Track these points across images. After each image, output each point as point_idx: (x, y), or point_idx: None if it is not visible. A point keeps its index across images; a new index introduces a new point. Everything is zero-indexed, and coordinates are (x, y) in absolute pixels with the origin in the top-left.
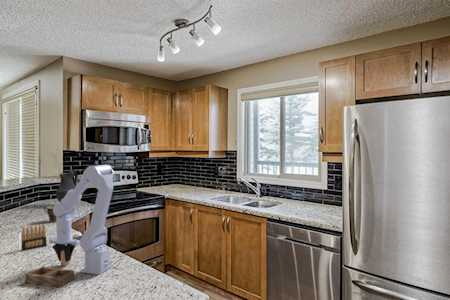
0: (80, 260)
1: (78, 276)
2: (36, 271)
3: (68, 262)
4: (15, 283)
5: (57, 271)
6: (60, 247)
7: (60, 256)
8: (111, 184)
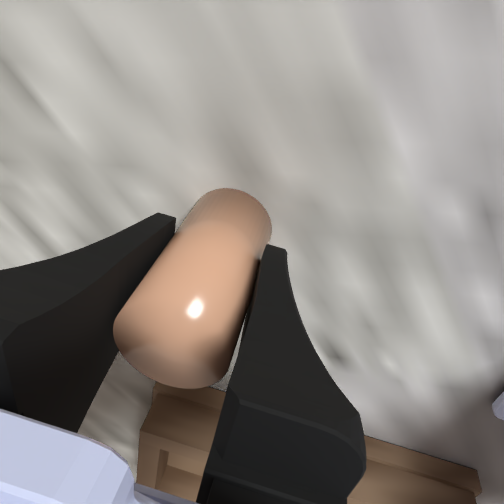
0: (370, 75)
1: (495, 454)
2: (158, 470)
3: (265, 235)
4: None
5: None
6: (66, 395)
7: None
8: None
